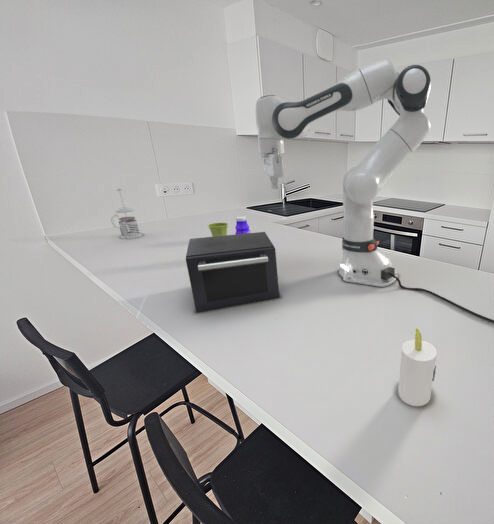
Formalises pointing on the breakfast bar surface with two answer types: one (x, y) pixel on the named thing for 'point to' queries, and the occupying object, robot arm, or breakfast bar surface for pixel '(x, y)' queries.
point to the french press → (127, 223)
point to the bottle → (241, 225)
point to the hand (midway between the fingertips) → (274, 188)
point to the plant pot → (218, 229)
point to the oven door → (233, 278)
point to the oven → (228, 243)
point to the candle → (417, 371)
